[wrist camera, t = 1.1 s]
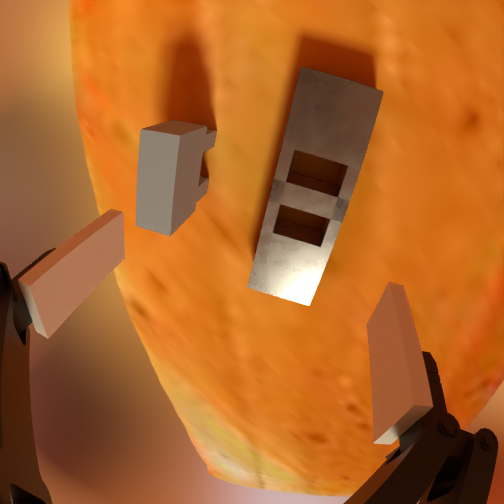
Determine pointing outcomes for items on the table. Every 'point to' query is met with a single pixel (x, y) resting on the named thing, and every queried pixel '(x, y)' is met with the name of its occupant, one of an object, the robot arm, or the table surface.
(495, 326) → the table surface
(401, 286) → the robot arm
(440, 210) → the table surface
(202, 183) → the upright grey box
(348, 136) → the block with rectangular hole
